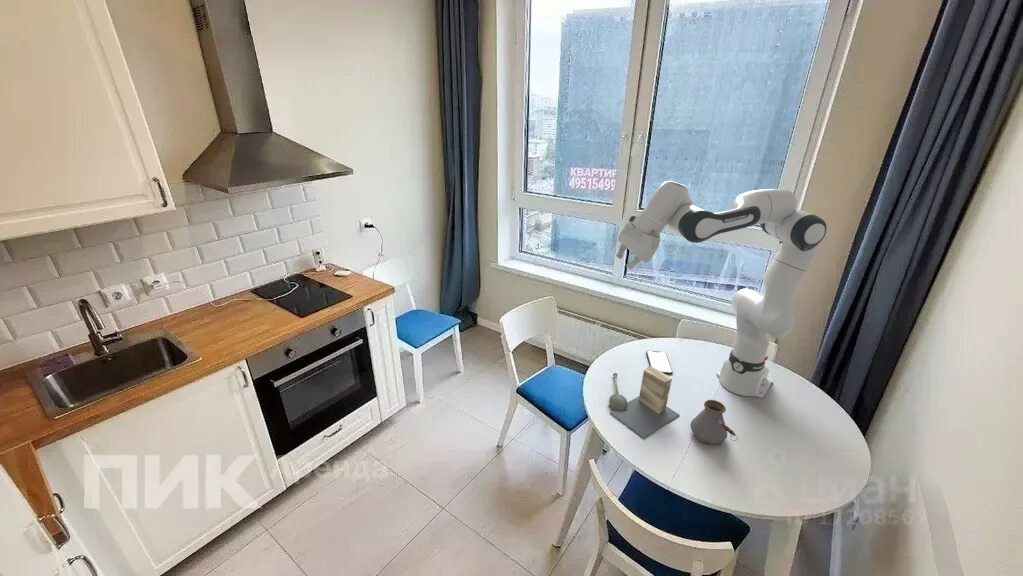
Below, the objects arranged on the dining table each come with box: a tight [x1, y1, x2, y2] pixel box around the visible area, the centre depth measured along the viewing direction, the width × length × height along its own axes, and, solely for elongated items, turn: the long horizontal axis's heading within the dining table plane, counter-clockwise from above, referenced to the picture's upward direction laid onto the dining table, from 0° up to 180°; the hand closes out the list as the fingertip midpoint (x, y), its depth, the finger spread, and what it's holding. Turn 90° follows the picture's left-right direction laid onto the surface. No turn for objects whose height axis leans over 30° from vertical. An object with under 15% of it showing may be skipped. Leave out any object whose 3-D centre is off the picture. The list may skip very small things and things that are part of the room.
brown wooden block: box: [638, 365, 673, 414], centre depth 150 cm, size 4×9×14 cm, turn 35°
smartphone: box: [645, 350, 673, 376], centre depth 178 cm, size 9×2×16 cm
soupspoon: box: [608, 372, 628, 411], centre depth 159 cm, size 22×3×7 cm
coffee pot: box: [689, 399, 739, 445], centre depth 132 cm, size 21×12×15 cm, turn 174°
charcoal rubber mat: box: [609, 395, 680, 440], centre depth 148 cm, size 20×15×1 cm
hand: (623, 262), depth 137 cm, fingers open, 8 cm apart
